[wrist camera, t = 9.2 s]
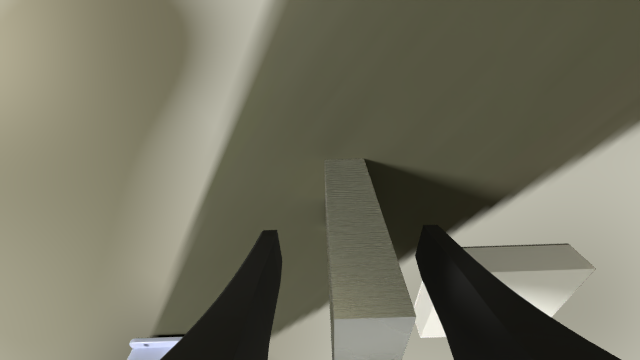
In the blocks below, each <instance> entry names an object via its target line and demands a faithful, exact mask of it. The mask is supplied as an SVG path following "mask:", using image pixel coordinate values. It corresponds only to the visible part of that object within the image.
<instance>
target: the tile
mask: <svg viewBox="0 0 640 360" xmlns="http://www.w3.org/2000/svg"><path fill="white" fill-rule="evenodd" d="M462 248H463V249H464V250H465V251H466V252H467V253H468V254H469V255H471V256H472V257H473V258H474V259H475V260H476V261H477V262H478V263H480V264H481V265H482V266H483V267H484V268H485V269H487V270H488V271H489V272H490V273H491V274H493V275H494V276H495V277H496V278H498V279H499V280H500V281H501V282H503V283H504V284H505V285H506V286H508V287H509V288H510V289H512V290H513V291H514V292H516V293H517V294H518V295H520V296H521V297H523V298H524V299H525V300H527V301H528V302H529V303H531V304H532V305H534V306H535V307H537V308H538V309H539V310H541V311H542V312H544V313H545V314H547V315H548V316H550V317H552V316H553V315H554V314H555V313H556V312H557V311H558V309H559V308H560V307H561V306H562V305H563V304H564V303H565V302H566V301H567V300H568V299H569V297H570V296H571V295H572V294H573V293H574V292H575V291H576V290H577V289H578V288H579V287H580V286H581V284H582V283H583V282H584V281H585V280H586V279H587V278H588V276H590V275H591V274H592V272H593V271H594V270H595V269H596V268H594V267H593V266H592V265H591V264H590V263H589V262H588V261H587V260H586V259H584V258H583V257H582V256H581V255H580V254H579V253H578V252H577V251H576V250H575V249H574V248H572V247H571V246H570V245H569V244H568V243H564V244H533V245H503V246H473V247H462ZM414 311H415V314H416V320H415V322H416V326H417V329H418V332H419V335H420V338H429V337H446V335H445V332H444V329H443V327H442V325H441V322H440V320H439V318H438V315H437V313H436V311H435V308H434V306H433V304H432V301H431V299H430V297H429V294H428V292H427V290H426V287H425V285H424V283H423V280H422V283H421V287H420V289H419V293H418V296H417V299H416V302H415V305H414Z"/></svg>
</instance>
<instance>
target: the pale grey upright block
mask: <svg viewBox="0 0 640 360" xmlns="http://www.w3.org/2000/svg"><path fill="white" fill-rule="evenodd" d="M325 202H326V238H327V259H328V279H329V300H330V320H331V341H332V360H402V357H403V355H404V351H405V349H406V346H407V343H408V340H409V337H410V334H411V331H412V328H413V325H414V322H415V320H416V314H415V311H414V308H413V305H412V302H411V299H410V296H409V293H408V290H407V287H406V284H405V281H404V278H403V275H402V272H401V269H400V266H399V263H398V260H397V257H396V254H395V251H394V248H393V245H392V242H391V239H390V236H389V233H388V230H387V227H386V224H385V221H384V218H383V215H382V212H381V209H380V206H379V203H378V200H377V197H376V194H375V191H374V188H373V185H372V182H371V179H370V176H369V173H368V170H367V167H366V164H365V161H364V159H338V160H325Z"/></svg>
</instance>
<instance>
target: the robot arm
mask: <svg viewBox="0 0 640 360" xmlns="http://www.w3.org/2000/svg"><path fill="white" fill-rule="evenodd" d="M415 257H416V261H417V264H418V268H419V271H420V274H421V278H422V280H423V283H424V285H425V287H426V290H427V292H428V294H429V297H430V299H431V301H432V304H433V306H434V308H435V311H436V313H437V315H438V318H439V320H440V322H441V325H442V327H443V329H444V332H445V335H446V337H447V340H448V343H449V346H450V349H451V352H452V355H453V358H454V360H621V359H619V358H617V357H616V356H614V355H612V354H610V353H609V352H607V351H605V350H604V349H602V348H600V347H598V346H597V345H595V344H593V343H591V342H589V341H588V340H586V339H585V338H583V337H581V336H580V335H578V334H577V333H575V332H573V331H572V330H570V329H568V328H567V327H565V326H564V325H562V324H561V323H559V322H557V321H556V320H554V319H553V318H551V317H550V316H548V315H547V314H545V313H544V312H542V311H541V310H539V309H538V308H537V307H535V306H534V305H532V304H531V303H529V302H528V301H527V300H525V299H524V298H523V297H521V296H520V295H518V294H517V293H516V292H514V291H513V290H512V289H510V288H509V287H508V286H506V285H505V284H504V283H503V282H501V281H500V280H499V279H498V278H496V277H495V276H494V275H493V274H491V273H490V272H489V271H488V270H487V269H485V268H484V267H483V266H482V265H481V264H480V263H478V262H477V261H476V260H475V259H474V258H473V257H472V256H471V255H469V254H468V253H467V252H466V251H465V250H464V249H463V248H462V247H461V246H460V245H458V244H457V243H456V242H455V241H454V240H453V239H452V238H451V237H450V236H449V235H448V234H447V233H446V232H444V231H443V230H442V229H441V228H440V227H439V226H438V225H423V229H422V232H421V236H420V240H419V243H418V247H417V251H416V255H415ZM281 269H282V256H281V250H280V245H279V239H278V233H277V230H264V231H262V232H261V234H260V236H259V238H258V240H257V241H256V243H255V245H254V246H253V248H252V250H251V251H250V253H249V255H248V256H247V258H246V259H245V261H244V262H243V264H242V265H241V267H240V268H239V270H238V271H237V273H236V274H235V276H234V277H233V278H232V280H231V281H230V282H229V284H228V285H227V287H226V288H225V289H224V291H223V292H222V293H221V294H220V296H219V297H218V298H217V299H216V301H215V302H214V303H213V304H212V305H211V307H210V308H209V309H208V310H207V311H206V313H205V314H204V315H203V316H202V317H201V318H200V319H199V320H198V321H197V323H196V324H195V325H194V326H193V327H192V328H191V329H190V330H189V331H188V332H187V333H186V334H185V335H184V336H183V337H161V338H134V339H132V340H131V342H130V344H129V345H130V346H131V347H132V348H133V349H132V351H131V354H130V355H129V357H128V359H127V360H268V349H269V342H270V335H271V330H272V324H273V319H274V314H275V309H276V303H277V298H278V293H279V287H280V281H281Z"/></svg>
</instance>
